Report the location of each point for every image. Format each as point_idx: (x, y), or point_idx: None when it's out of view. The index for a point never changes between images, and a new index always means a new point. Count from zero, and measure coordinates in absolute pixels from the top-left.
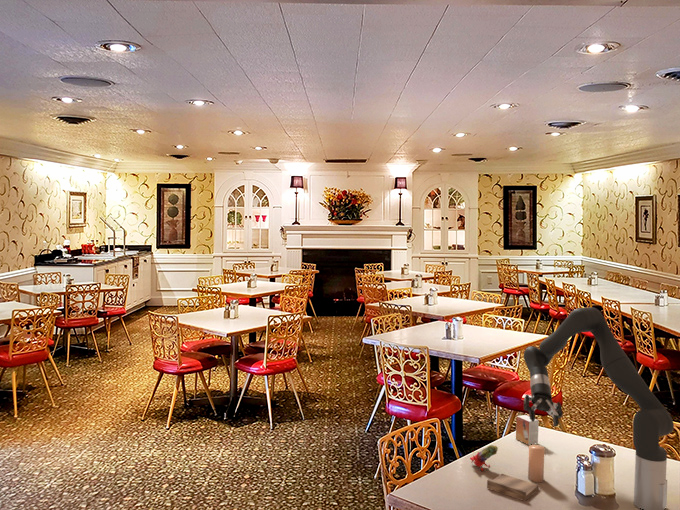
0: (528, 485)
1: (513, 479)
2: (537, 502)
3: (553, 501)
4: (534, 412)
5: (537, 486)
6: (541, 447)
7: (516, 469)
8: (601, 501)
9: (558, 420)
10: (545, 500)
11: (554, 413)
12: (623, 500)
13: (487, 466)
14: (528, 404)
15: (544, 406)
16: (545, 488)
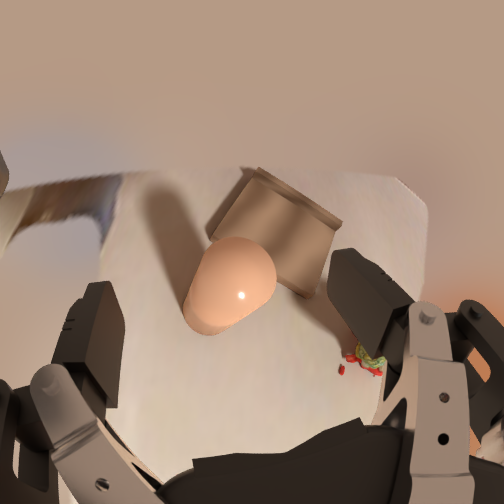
0: (241, 228)
1: (281, 261)
2: (223, 174)
3: (183, 180)
4: (378, 289)
5: (216, 228)
6: (214, 276)
7: (265, 375)
8: (63, 193)
9: (62, 332)
10: (202, 183)
11: (80, 392)
12: (12, 206)
13: (347, 355)
14: (486, 330)
15: (280, 475)
16: (188, 247)
